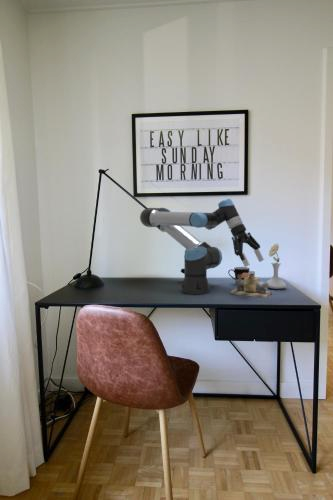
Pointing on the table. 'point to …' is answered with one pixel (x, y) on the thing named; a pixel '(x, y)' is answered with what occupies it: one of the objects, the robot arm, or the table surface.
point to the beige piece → (251, 287)
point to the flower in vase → (275, 271)
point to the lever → (247, 274)
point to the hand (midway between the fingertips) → (254, 263)
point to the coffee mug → (239, 272)
